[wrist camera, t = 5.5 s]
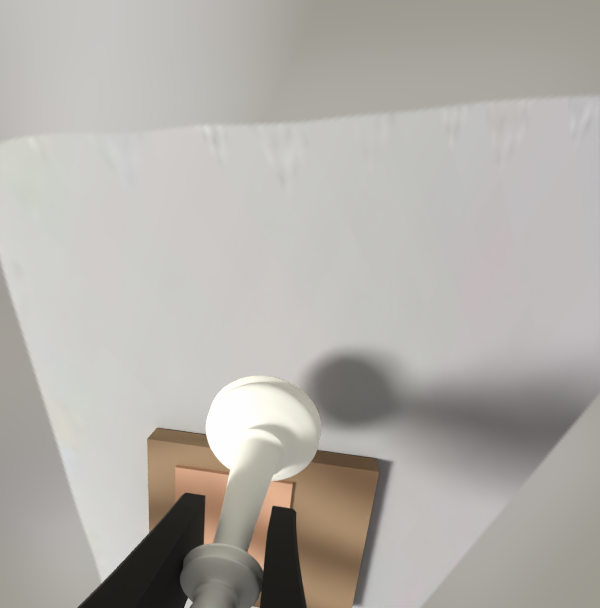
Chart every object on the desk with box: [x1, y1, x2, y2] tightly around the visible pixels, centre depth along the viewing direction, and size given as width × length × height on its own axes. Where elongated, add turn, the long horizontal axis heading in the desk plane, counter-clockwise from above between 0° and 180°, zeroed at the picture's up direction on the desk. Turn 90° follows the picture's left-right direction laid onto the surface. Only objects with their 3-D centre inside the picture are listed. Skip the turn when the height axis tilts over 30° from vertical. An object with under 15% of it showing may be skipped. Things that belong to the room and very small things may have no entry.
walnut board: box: [147, 428, 379, 608], centre depth 18 cm, size 12×14×1 cm
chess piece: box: [180, 375, 321, 608], centre depth 8 cm, size 5×5×10 cm
